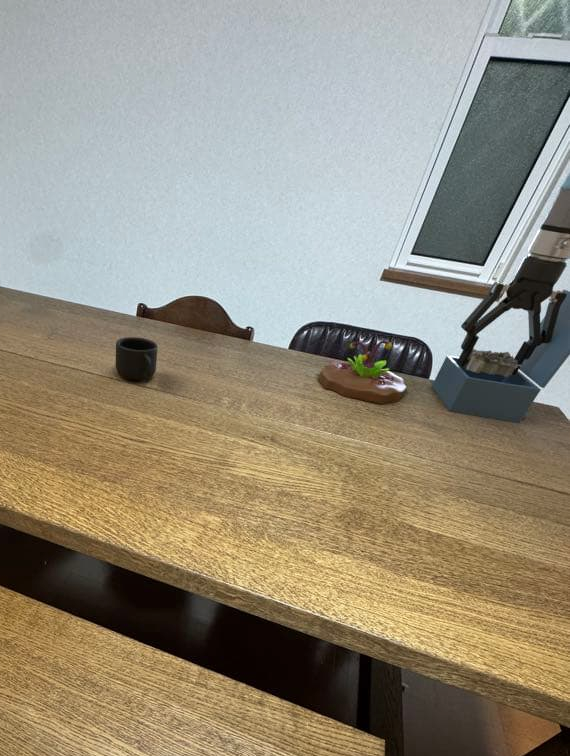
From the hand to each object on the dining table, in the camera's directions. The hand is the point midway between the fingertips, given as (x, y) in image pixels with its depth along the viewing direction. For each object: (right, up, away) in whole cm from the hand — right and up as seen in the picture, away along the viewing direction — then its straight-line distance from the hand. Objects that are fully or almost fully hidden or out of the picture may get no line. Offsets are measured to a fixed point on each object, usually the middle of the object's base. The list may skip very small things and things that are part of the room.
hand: (485, 368), depth 104 cm
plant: (-26, -2, +7) cm, 27 cm away
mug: (-80, -4, -4) cm, 80 cm away
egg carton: (0, 0, 0) cm, 0 cm away
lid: (+10, +4, -6) cm, 13 cm away
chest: (+1, -7, +5) cm, 8 cm away
